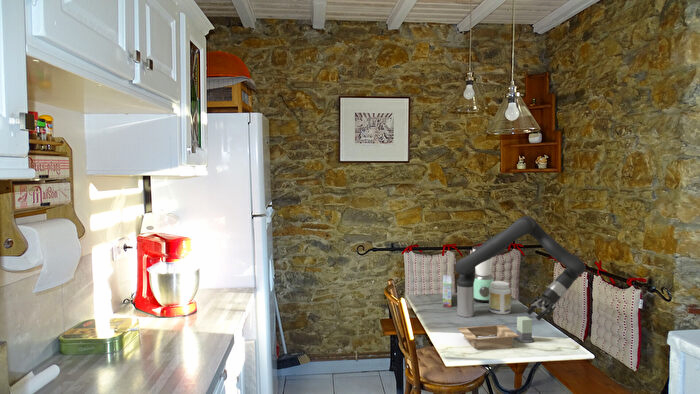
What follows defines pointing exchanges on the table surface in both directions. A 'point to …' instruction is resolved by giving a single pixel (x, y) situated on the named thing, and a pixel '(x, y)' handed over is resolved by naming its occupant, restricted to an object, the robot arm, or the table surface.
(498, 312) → the supplement tub
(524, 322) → the box
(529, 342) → the slate mat
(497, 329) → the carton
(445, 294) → the snack box
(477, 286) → the mint green blender
